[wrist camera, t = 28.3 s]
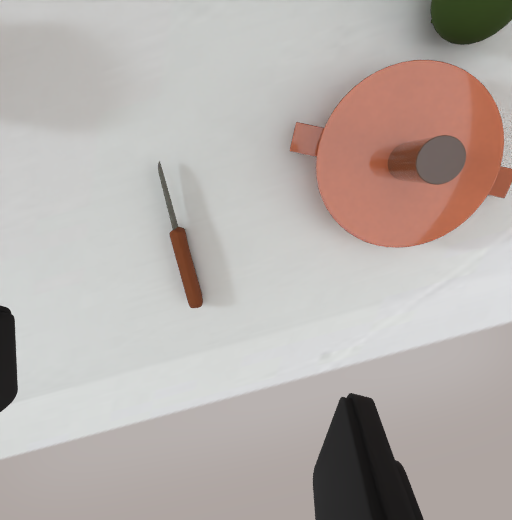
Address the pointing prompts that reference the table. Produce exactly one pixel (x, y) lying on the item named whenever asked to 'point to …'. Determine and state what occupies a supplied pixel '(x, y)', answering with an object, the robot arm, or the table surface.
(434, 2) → the avocado
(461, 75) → the lid
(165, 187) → the kitchen knife
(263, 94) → the table surface
